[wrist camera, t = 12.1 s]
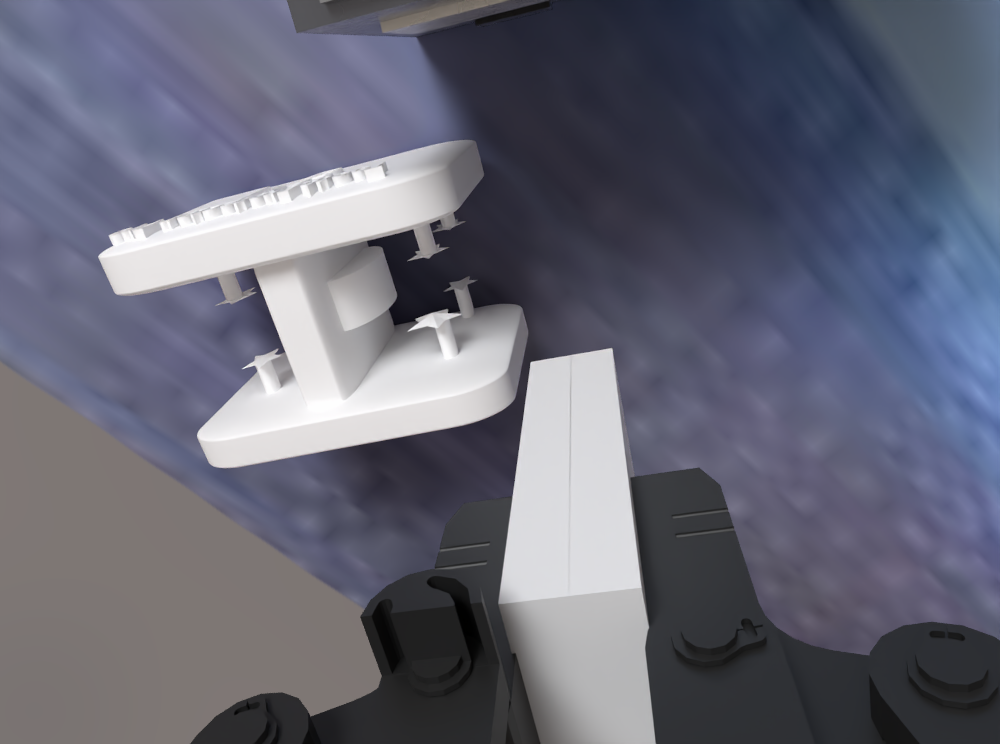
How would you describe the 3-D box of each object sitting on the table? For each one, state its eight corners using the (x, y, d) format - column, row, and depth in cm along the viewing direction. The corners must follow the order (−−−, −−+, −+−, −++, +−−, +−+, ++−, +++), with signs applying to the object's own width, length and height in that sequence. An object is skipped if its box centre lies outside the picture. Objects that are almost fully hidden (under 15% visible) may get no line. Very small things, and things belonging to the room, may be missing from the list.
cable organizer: (277, 376, 43) (177, 483, 33) (205, 194, 40) (66, 249, 29) (533, 323, 41) (513, 422, 30) (481, 121, 37) (439, 153, 26)
